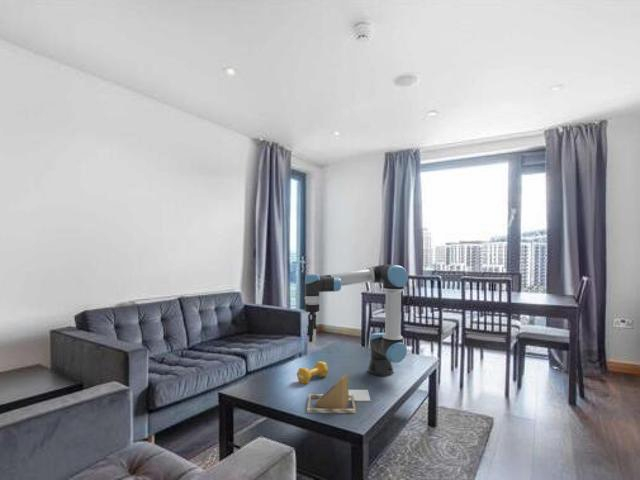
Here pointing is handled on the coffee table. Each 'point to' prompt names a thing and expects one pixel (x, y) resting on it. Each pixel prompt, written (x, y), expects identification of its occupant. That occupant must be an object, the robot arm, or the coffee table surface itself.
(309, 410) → the birch frame
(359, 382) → the coffee table surface
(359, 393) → the grey pad
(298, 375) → the dumbbell
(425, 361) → the coffee table surface
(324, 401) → the sandwich container
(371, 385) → the coffee table surface
